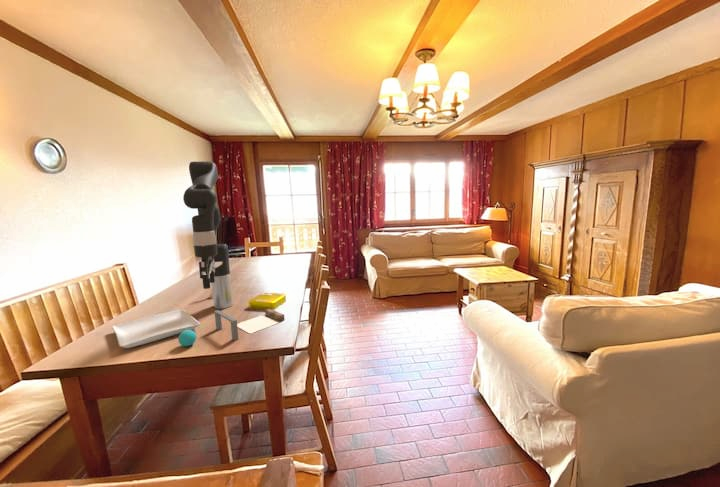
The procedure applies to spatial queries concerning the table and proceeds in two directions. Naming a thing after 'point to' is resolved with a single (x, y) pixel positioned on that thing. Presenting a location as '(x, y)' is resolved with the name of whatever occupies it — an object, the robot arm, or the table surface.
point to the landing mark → (256, 324)
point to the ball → (187, 338)
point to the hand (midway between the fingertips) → (209, 285)
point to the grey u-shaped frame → (233, 321)
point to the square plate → (153, 328)
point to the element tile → (267, 301)
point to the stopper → (274, 314)
